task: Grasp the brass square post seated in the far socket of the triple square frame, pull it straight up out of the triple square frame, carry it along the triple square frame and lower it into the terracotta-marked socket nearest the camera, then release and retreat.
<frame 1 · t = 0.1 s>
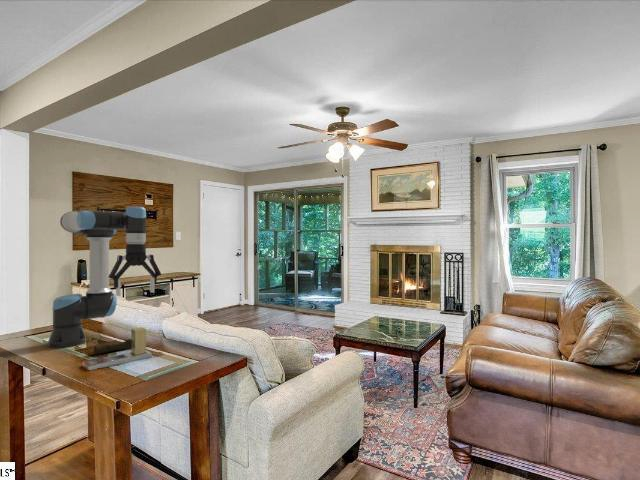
hand: (135, 294, 157), 28 cm above the table, fingers open, 13 cm apart
triple square frame: (118, 361, 155), on the table
hand tool: (117, 351, 170), on the table
brass post: (138, 356, 161), resting in triple square frame
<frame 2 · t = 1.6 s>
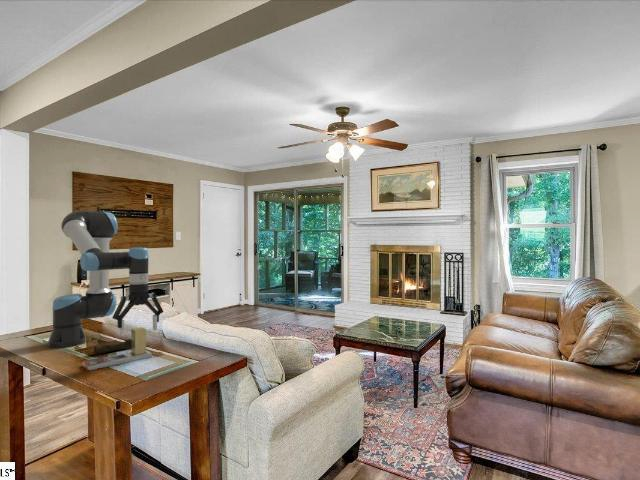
hand: (139, 332, 161), 10 cm above the table, fingers open, 13 cm apart
nothing on the table moved.
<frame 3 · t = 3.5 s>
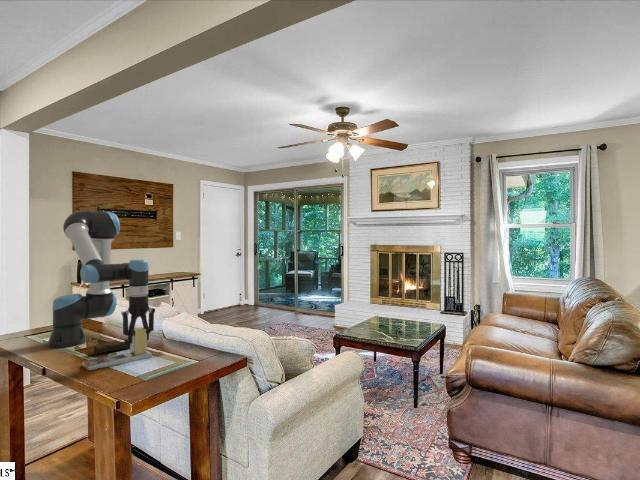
hand: (138, 349, 161), 3 cm above the table, fingers closed on brass post, 4 cm apart
brass post: (138, 356, 161), resting in triple square frame, touching gripper
everything else where it was.
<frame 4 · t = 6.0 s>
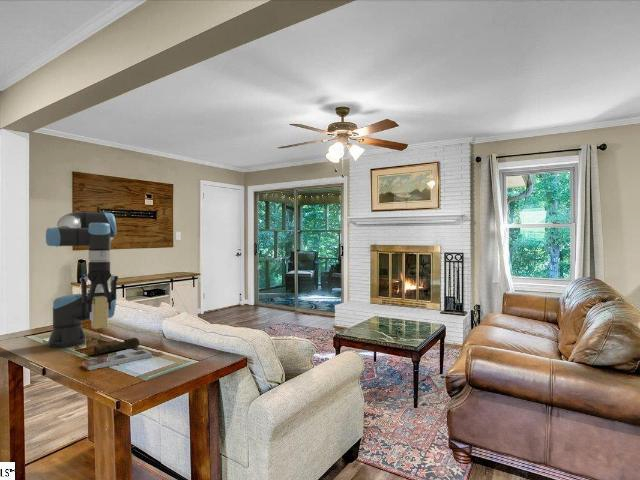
hand: (99, 319, 150), 19 cm above the table, fingers closed on brass post, 4 cm apart
brass post: (99, 327, 150), point 15 cm above the table, touching gripper
everything else where it was.
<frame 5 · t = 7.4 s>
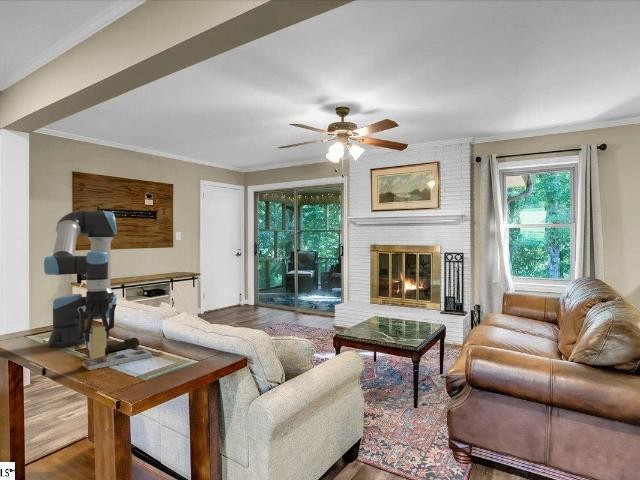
hand: (97, 348, 149), 7 cm above the table, fingers closed on brass post, 4 cm apart
brass post: (97, 356, 149), point 4 cm above the table, touching gripper
everything else where it was.
when the fingers open (4 cm above the table, at t = 8.7 s): brass post stays where it is, resting in triple square frame.
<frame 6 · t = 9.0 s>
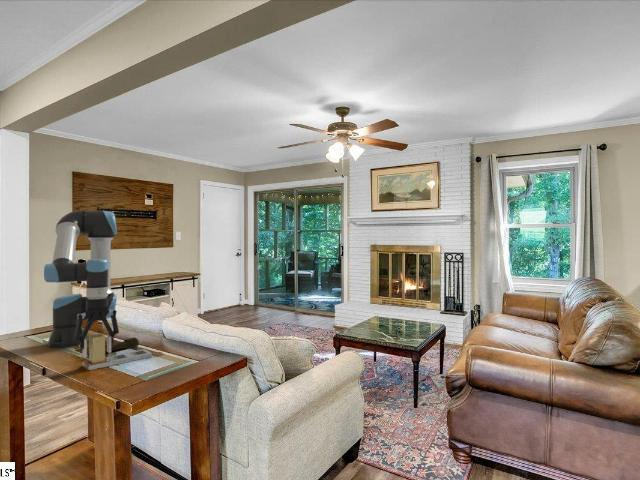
hand: (97, 354, 149), 5 cm above the table, fingers open, 8 cm apart
brass post: (97, 365, 149), resting in triple square frame
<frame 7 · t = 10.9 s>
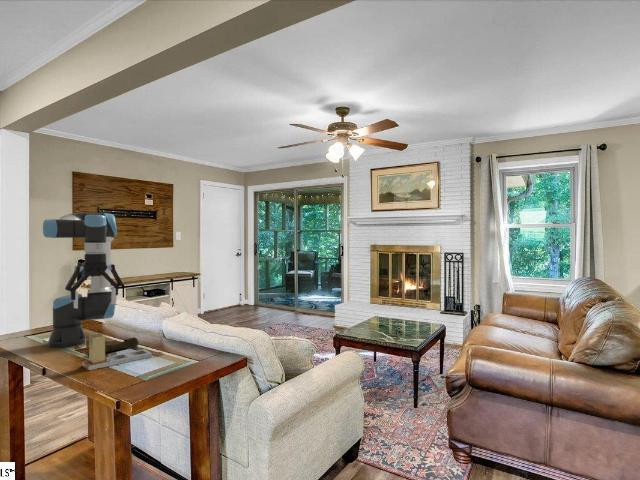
hand: (95, 305, 151), 24 cm above the table, fingers open, 13 cm apart
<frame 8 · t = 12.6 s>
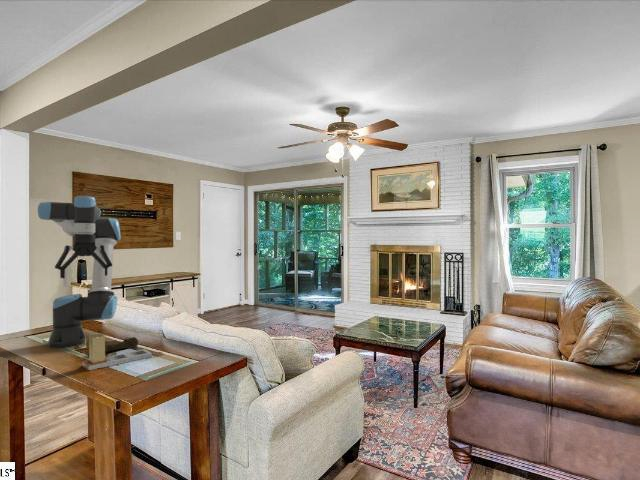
hand: (84, 285, 154), 32 cm above the table, fingers open, 13 cm apart
at the end: brass post 0.0 cm from the target spot on the triple square frame, point 0.0 cm above the triple square frame's base; brass post tilted 0°; the gripper is holding nothing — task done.
